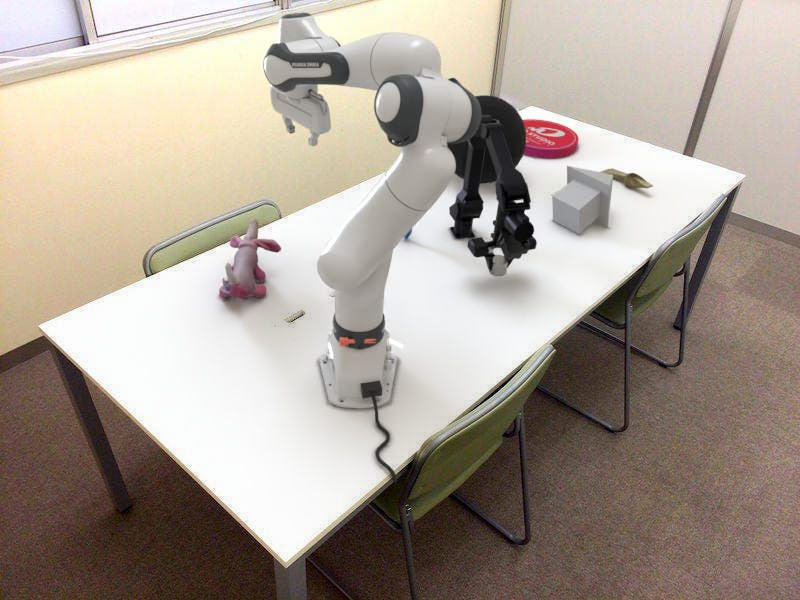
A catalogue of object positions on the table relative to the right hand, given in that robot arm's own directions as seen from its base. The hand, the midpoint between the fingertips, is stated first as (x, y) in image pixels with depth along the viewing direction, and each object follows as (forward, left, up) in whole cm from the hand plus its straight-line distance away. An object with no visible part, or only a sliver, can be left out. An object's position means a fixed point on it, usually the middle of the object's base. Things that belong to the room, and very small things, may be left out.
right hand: (497, 268), depth 186 cm
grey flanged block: (-29, +41, -4) cm, 50 cm away
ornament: (-25, -21, -4) cm, 33 cm away
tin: (0, 0, -1) cm, 1 cm away
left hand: (-14, -52, +35) cm, 65 cm away
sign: (-89, +50, -4) cm, 102 cm away
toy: (-11, -71, -4) cm, 72 cm away
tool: (-51, +69, -4) cm, 86 cm away
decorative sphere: (-61, +14, -4) cm, 63 cm away
